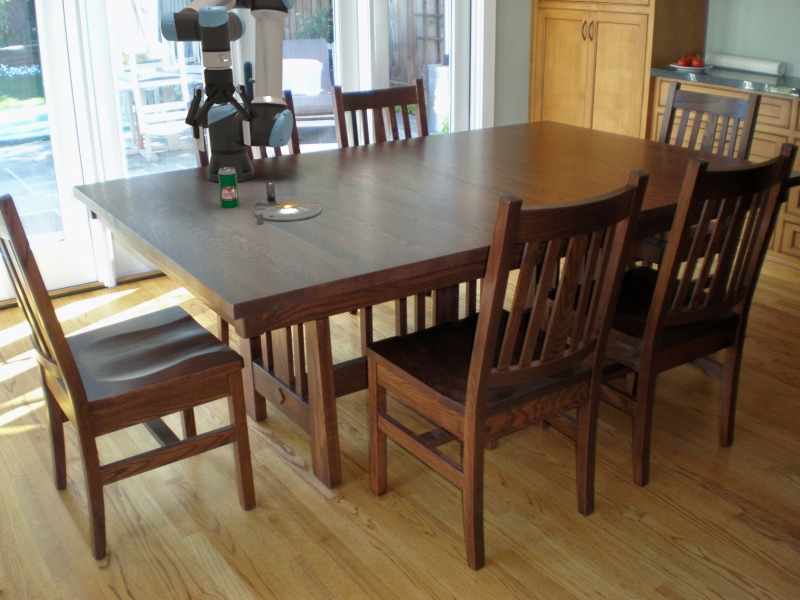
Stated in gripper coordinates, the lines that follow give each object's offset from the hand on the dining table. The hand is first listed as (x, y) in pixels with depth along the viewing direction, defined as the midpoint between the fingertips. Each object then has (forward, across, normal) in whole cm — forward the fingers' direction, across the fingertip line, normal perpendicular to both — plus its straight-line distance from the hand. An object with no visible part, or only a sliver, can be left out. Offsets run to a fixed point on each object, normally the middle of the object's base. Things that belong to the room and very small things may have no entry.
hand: (224, 147), depth 227 cm
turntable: (+17, +10, -15) cm, 25 cm away
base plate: (+18, +10, -15) cm, 26 cm away
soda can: (+18, 0, 0) cm, 18 cm away
